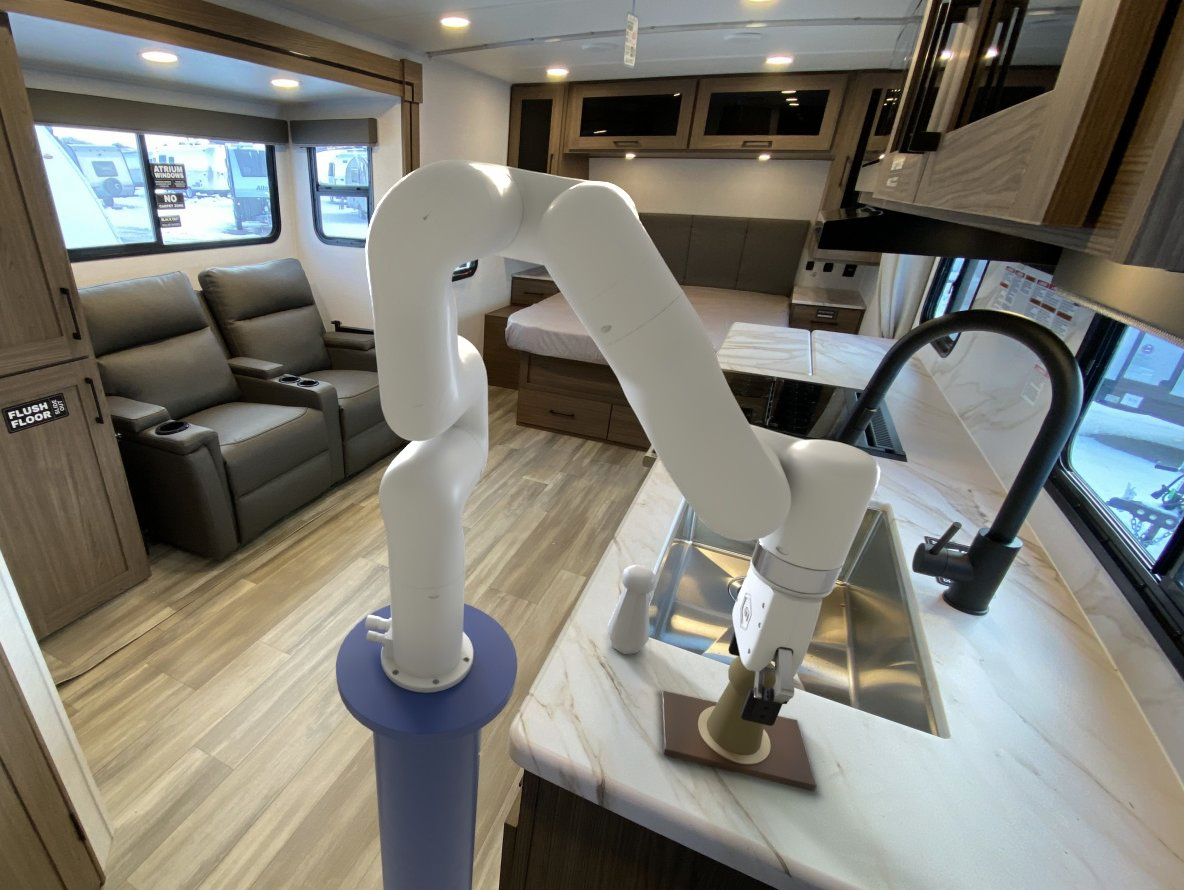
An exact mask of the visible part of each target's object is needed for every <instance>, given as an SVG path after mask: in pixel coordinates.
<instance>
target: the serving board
mask: <svg viewBox="0 0 1184 890" xmlns="http://www.w3.org/2000/svg"><path fill="white" fill-rule="evenodd" d="M660 700H661V701H660V702H661V725H662V727H661V728H662V748H663V749H662V753H663V755H664V756H667V757H671V758H676V759H680V760H683V761H684V760H685V761H688V762H692V763H695V764H696V763H697V764H700V765H705V766H707V767H708V766H709V767H713V768H716V769H721V770H725V771H730V772H733V773H736V774H737V773H738V774H741V775H745V776H750V777H754V778H758V779H762V780H766V781H770V782H774V783H778V784H782V785H787V786H790V787H794V788H799V789H802V790H807V791H812V792H815V790H816V788H817V786H818V785H817V782H816V778H815V776H814V772H813V769H812V765H811V761H810V758H809V756H808V751H807V748H806V745H805V742H804V739H803V735H802V731H801V728H800V724H799V720H798V719H793V718H789V717H786V716H780V715H778V716H777V718H776V721H775V723H774V725H772V726H768V725H764V730H763V736H762V742H761V746H760V749H759V750H758V751H757V752H756V753H754V754H751V755H738V754H734V753H731V752H729V751H727V750H725V749H723V748H722V747H721V746H719V745H718V744H717V743H716V742H715V741H714V740H713V739H712V737H711V736H710V734H709V732H708V730H707V721H708V718H709V716H710V715H711V713H712V711H713V710H714V708H715V706H716V704H717V703H718V701H717V702H716V701H711V700H708V699H704V698H700V697H699V698H698V697H696V696H695V697H693V696H689V695H684V694H680V693H677V692H671V691H667V690H662V691H661V695H660Z"/></svg>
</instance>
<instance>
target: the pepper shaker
mask: <svg viewBox="0 0 1184 890" xmlns="http://www.w3.org/2000/svg"><path fill="white" fill-rule="evenodd" d="M766 667H768V668H773V669H775V664H773V663H772V661H771V662H770V663H769V664H768V665H767V666H766ZM727 673H728V683H727V685H726V687H725V688H724V691H723V692H722V694H721V695H720V697H719V699H718V701H717V704H716V706H715V708H714V710H713V711H712V713H711V715H710V716H709V718H708V721H707V730H708V732H709V734H710V736H711V737H712V739H713V740H714V741H715V742H716V743H717V744H718V745H719V746H721V747H722V748H723V749H725V750H727V751H729V752H731V753H734V754H738V755H751V754H754V753H756V752H757V751H758V750H759V749H760V746H761V742H762V736H763V730H764V724H760V723H755V722H751V721H747V720H743V719H742V718H741V711H742V708H743V705H744V703H745V700H746V697H747V695H748V692H749V689H754V682H755V671H749V670H747V669H746V668H745V666H744V665H743V663H742V661H741V657H740V656H735V658H734V659H733V660H731V662H730V664H729V667H728V672H727ZM775 680H776V678H775V675H771V674H766V673H765V674H764V685H763V687H768V688H773V686H774V685H775Z"/></svg>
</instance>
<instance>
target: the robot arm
mask: <svg viewBox="0 0 1184 890" xmlns="http://www.w3.org/2000/svg"><path fill="white" fill-rule="evenodd" d="M365 242H366V243H365V262H366V264H365V265H366V272H367V273H366V274H367V280H368V287H369V294H370V301H371V311H372V320H373V337H374V346H375V357H376V366H377V376H378V387H379V397H380V399H379V400H380V407H381V410H382V414H383V417H384V419H385V422H386V423H387V425H388V426H389V428H390V429H391V430H392V431H393V432H394V434H396V435H397V436H398V437H400V438H401V439H404V440H406V441H410V443H409V444H407V445H406V447H404V449H403V450H401V451H400V453H399V454H397V456H396V457H395V458H394V459H393V460H392V461H391V463H390V464H389V466H388V467H387V468H386V470H385V472H384V474H383V476H382V477H381V481H380V485H379V488H378V505H379V510H380V514H381V517H382V521H383V525H384V529H385V535H386V536H385V537H386V545H387V560H388V561H387V564H388V565H387V566H388V578H389V579H388V580H389V581H388V583H389V605H390V608H391V618H389V620H387V619H383V618H381V617H377V616H373V615H370V614H368V615H366V616H367V618H366V622H365V628H366V629H371V630H375V631H378V630H379V631H384V632H386V633H385V634H380V633H378V632H374V631H368V633H367V636H366V640H367V641H371V642H378V643H382V649H381V664H382V667H383V670H384V672H385V674H386V675H387V677H388V678H389V679H390V680H391V681H392V682H394V683H395V684H397V685H398V686H400V687H402V688H404V689H407V690H410V691H415V692H424V693H428V692H437V691H442V690H445V689H448V688H450V687H452V686H454V685H456V684H457V683H459V682H460V681H461V680H462V679H464V678H465V677H466V675H467V674H468V673H469V671H470V669H471V667H472V664H473V646H472V643H471V641H470V639H469V638H468V637H467V635H466V634H465V633H464V632H463V617H464V604H465V589H466V588H465V587H466V585H465V584H466V582H465V581H466V536H465V532H464V527H463V513H464V509H465V507H466V503H467V501H468V500H469V498H470V496H471V495H472V494H473V491H474V489H475V488H476V486H477V484H478V482H479V481H480V480H481V478H482V476H483V474H484V473H485V470H486V467H487V463H488V459H489V438H490V437H489V384H488V374H487V369H486V365H485V363H484V360H483V357H482V355H481V353H480V352H479V351H478V349H477V348H476V346H475V345H474V344H473V343H472V342H470V341H469V340H468V339H466V338H464V337H463V336H461V335H459V334H458V325H459V324H458V323H459V321H458V320H459V316H458V315H459V314H458V313H459V312H458V306H457V305H458V304H457V299H456V295H455V290H454V287H453V281H452V280H453V276H454V272H455V271H456V270H457V268H459V267H461V266H462V265H465V264H468V263H471V262H474V261H477V260H480V259H484V258H486V257H488V256H498V257H503V258H507V259H512V260H517V261H522V262H526V263H530V264H535V265H541V266H544V267H545V269H546V271H547V272H548V274H549V276H550V278H551V279H552V280H553V282H554V284H555V285H556V287H557V288H558V290H559V291H560V293H561V294H562V296H563V297H564V299H565V300H566V301H567V303H568V305H569V306H570V307H571V309H572V311H573V312H574V314H575V315H576V317H577V318H578V320H579V321H580V322H581V324H582V325H583V327H584V329H585V330H586V332H587V333H588V334H589V336H590V338H591V339H592V340H593V342H594V344H595V345H596V347H597V349H598V350H599V351H600V353H601V355H602V356H603V358H604V359H605V361H606V363H608V365H609V366H610V369H611V370H612V372H613V373H614V375H615V376H616V378H617V380H618V382H619V384H620V387H621V388H622V391H623V393H624V396H625V398H626V399H627V401H628V403H629V405H630V407H631V409H632V411H633V413H634V414H635V416H636V417H637V419H638V421H639V423H640V425H641V427H642V429H643V431H644V432H645V435H646V437H647V439H648V441H649V442H650V444H651V447H652V448H653V451H654V452H655V454H656V456H657V457H658V459H659V461H660V463H661V464H662V466H663V468H664V469H665V471H666V472H667V474H668V475H669V477H670V479H671V480H672V482H673V483H674V485H675V486H676V487H677V489H678V490H679V492H680V494H681V495H682V497H683V498H684V499H685V501H686V502H687V504H688V506H689V507H690V508H691V510H692V511H693V512H694V514H695V515H696V517H697V518H698V519H699V520H700V521H701V523H702V524H703V525H705V526H706V527H707V528H708V529H709V530H710V531H712V532H714V533H716V534H717V535H719V536H721V537H723V538H726V539H728V540H733V541H738V542H750V541H756V543H755V547H754V549H753V553H752V555H751V558H750V562H749V569H747V570H748V571H747V573H746V575H745V577H744V579H743V582H742V585H741V587H740V590H739V592H738V595H737V598H736V600H735V603H734V604H733V605H734V606H733V608H732V613H731V615H732V616H731V617H732V624H733V629H734V631H733V633H732V637H731V640H730V642H729V645H728V650H727V651H728V654H730V655H731V656H735V657H738V656H740V657H741V661H742V663H743V665H744V666H745V668H746V669H747V670H749V671H755V682H754V689H749V692H748V695H747V697H746V700H745V703H744V705H743V708H742V711H741V718H742V719H743V720H747V721H751V722H755V723H760V724H764V725H768V726H772V725H774V723H775V721H776V718H777V716H779V715H780V711H781V708H782V707H783V705H787V704H788V703H789V702H790V700H791V699H793V698H794V696H795V681H794V680H795V679H794V677H795V676H796V675H797V673H798V672H799V670H800V669H801V666H802V664H803V662H804V660H805V657H806V655H807V652H808V649H809V646H810V643H811V641H812V638H813V635H814V632H815V629H816V625H817V622H818V618H819V616H820V611H821V608H822V604H823V598H827V597H828V596H830V594H832V593H833V592H834V591H833V590H834V589H835V586H836V583H837V582H838V579H839V577H840V574H841V572H842V570H843V567H844V565H845V562H846V559H847V557H848V555H849V552H850V550H851V548H852V546H853V543H854V540H855V539H856V537H857V534H858V531H859V529H860V527H861V524H862V522H863V520H864V517H865V516H866V513H867V511H868V508H869V506H870V504H871V500H872V499H873V496H874V494H875V492H876V489H877V487H878V484H879V481H880V478H881V469H880V465H879V463H878V462H877V460H876V459H875V458H874V457H873V456H872V455H871V454H869V453H868V452H866V451H864V450H862V449H860V448H857V447H856V446H853V445H850V444H846V443H843V442H840V441H834V440H828V439H803V438H799V437H795V436H791V435H787V434H784V433H781V432H777V431H774V430H771V429H768V428H764V427H761V426H757V425H753V424H750V423H749V421H748V419H747V418H746V416H745V414H744V412H743V410H742V409H741V407H740V405H739V403H738V401H737V400H736V398H735V395H734V394H733V392H732V390H731V388H730V386H729V384H728V381H727V378H726V377H725V375H724V373H723V370H722V368H721V365H720V363H719V359H718V356H717V353H716V350H715V347H714V345H713V342H712V340H711V339H712V338H711V337H710V335H709V333H708V331H707V329H706V326H705V325H704V323H703V321H702V319H701V317H700V315H699V314H698V312H697V311H696V309H695V307H694V306H693V305H692V303H691V302H690V300H689V298H688V297H687V295H686V294H685V292H684V290H683V289H682V287H681V286H680V284H679V283H678V281H677V279H676V278H675V276H674V274H673V272H672V271H671V270H670V268H669V265H667V262H666V261H665V260H664V258H663V257H662V255H661V253H660V252H659V250H658V248H657V247H656V245H655V243H654V241H653V240H652V239H651V237H650V235H649V234H648V232H647V230H646V228H645V227H644V225H643V224H642V221H641V220H640V217H639V213H638V209H637V207H636V205H635V202H634V201H633V200H632V198H631V197H630V195H629V194H628V193H627V192H626V191H625V190H623V188H621V187H619V186H617V185H615V184H614V183H610V182H606V181H595V180H586V179H579V178H572V177H566V176H565V177H564V176H559V175H554V174H550V173H544V172H538V171H532V170H527V169H522V168H517V167H512V166H507V165H502V164H497V163H491V162H483V161H476V160H471V159H461V158H453V159H443V160H442V159H441V160H437V161H434V162H430V163H427V164H425V165H422V166H420V167H418V168H416V169H415V170H413V171H411V172H410V173H407V174H406V175H405V176H403V177H401V178H400V179H399V180H398V181H397V182H395V184H394V185H392V186H391V188H390V189H389V190H388V191H387V192H386V193H385V194H384V196H383V197H382V198H381V199H380V200H379V202H378V204H377V207H376V208H375V210H374V211H373V214H372V217H371V219H370V222H369V225H368V229H367V235H366V241H365ZM770 662H771V663H772V662H773V663H774V666H775V669H773V668H768V667H766V666H767V665H768V664H769V663H770ZM765 673H766V674H771V675H775V678H776V680H775V685H774V686H773V688H768V687H763V685H764V674H765Z"/></svg>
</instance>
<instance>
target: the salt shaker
mask: <svg viewBox="0 0 1184 890" xmlns="http://www.w3.org/2000/svg"><path fill="white" fill-rule="evenodd" d="M656 580H657V578H656V574H655V573H654V572H653V570H652V569H650V568H649V567H648V566H644V565H641V564H632V565H629V566H627V567H626V568H625V569H624V570H623V573H622V580H621V582H622V586H624V587H623V588H622V591H621V593H620V595H619V598H618V600H617V602H616V605H615V607H614V609H613V612H612V614H611V616H610V619H609V621H608V623H607V629H606V632H607V633H606V634H607V635H608V638H609V639H610V642H611V646H612V648H613V649H614V650H616V651H618V652H620V654H623V655H632V654H633V655H635V654H637V653H638V652H639V651H640V650H642V648H644V646H645V645H646V644H647V643H648V642H649V640H650V593H651V592H652V591H653V590H654V589H655V586H656Z"/></svg>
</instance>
